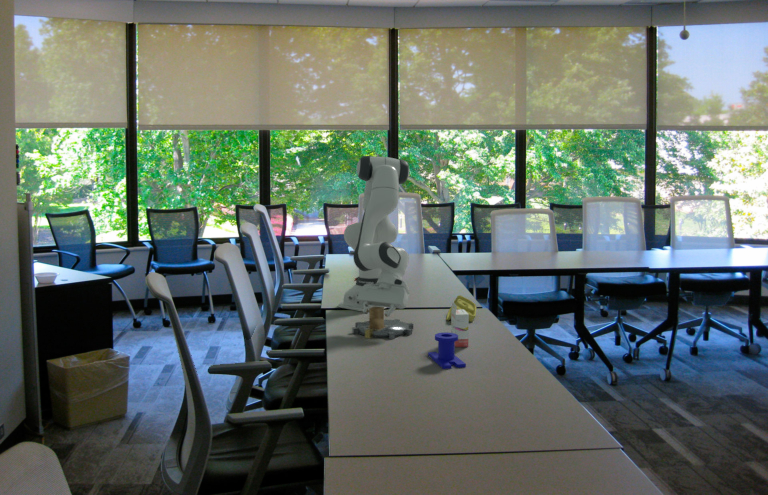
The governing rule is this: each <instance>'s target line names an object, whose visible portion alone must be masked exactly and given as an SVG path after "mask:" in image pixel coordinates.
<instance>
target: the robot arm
mask: <svg viewBox="0 0 768 495" xmlns="http://www.w3.org/2000/svg"><path fill="white" fill-rule="evenodd" d="M356 174H357V177H358V178H359V179H360V180H361V181H364V182H365V184H364V185H365V186H364V192H363V198H362V204H361V205H362V209H363V215H362V219H361V222H355V223H354V222H353V223H352V224H349V225H347V226H346V227H345V229H344V232H343V239H344V241H345V243H346V245H348V246H349V247H350V248H351V249H352V250H353V263H354V264H355V266H356V268H358V276H357V277H356V278H354V279H353V282H355V284H354V285H353V286H352V287H350V288H349V289H348V290H347V291H346V292H345V293H344V294H343V300H342V302H340V303H339V304H338V308H342V309H347V310H352V311H359V312H362V313H363V314H364V315H369V308H372V307H374V306H376V307H384V311H385V312H384V317H387V318H389V317H390V316H391V314H392V313H393V312H394V311H396V310H397V309H400V310H402V309H405V308H406V307H407V305H408V303H409V302H408V301H409V298H410V297H409V294H410V292H411V290H410V288H409V286H408V285H407V283H406V281H404V280H402V279H403V277H404V276H405V274H406V271H407V269H408V265H409V259H410V257H409V253H408V252H407V250H405V249H404V248H402V247H400V246H394V245H393V244H392V243H394V242H395V241H396V239H397V237H398V229H397V227H396V225H395V224H394V223H393V222H392V221H391V219H390V217H389V216H390V214H392V213H393V212H394V211H395V210H396V208H397V206H398V204H399V199H400V198H399V197H400V196H399V195H400V192H399V191H400V185H403V184H405V183H407V180H408V178H409V176H410V165H409V163H408V162H407V160H404V159H401V158H399V159H397V158H393V157H390V156H389V157H388V156H370V155H364V156H363V155H362V156H361V157H360V158H359V160H358V162H357V163H356ZM387 308H388V310H385V309H387Z"/></svg>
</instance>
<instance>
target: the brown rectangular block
mask: <svg viewBox="0 0 768 495" xmlns="http://www.w3.org/2000/svg"><path fill="white" fill-rule="evenodd" d="M384 311H385V309H384V307H376V306H374V307H372V308H369V312H368V315H369V318H368V319H369V320H368V321H369V327H370V328H373V329H382V328H384V320H385V319H384V318H385V312H384Z"/></svg>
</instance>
